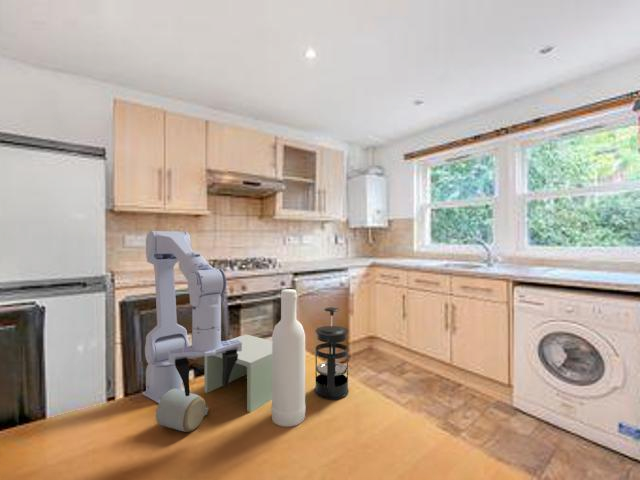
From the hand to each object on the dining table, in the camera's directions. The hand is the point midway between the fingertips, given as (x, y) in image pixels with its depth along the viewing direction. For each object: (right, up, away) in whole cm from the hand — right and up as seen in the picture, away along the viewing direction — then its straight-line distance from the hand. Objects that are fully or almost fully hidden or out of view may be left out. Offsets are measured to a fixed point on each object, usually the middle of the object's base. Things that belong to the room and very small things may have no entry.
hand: (206, 389), depth 66 cm
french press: (+27, -10, +19) cm, 35 cm away
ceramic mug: (-6, -10, +5) cm, 13 cm away
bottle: (+17, -10, +7) cm, 21 cm away
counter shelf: (+4, -10, +20) cm, 23 cm away
